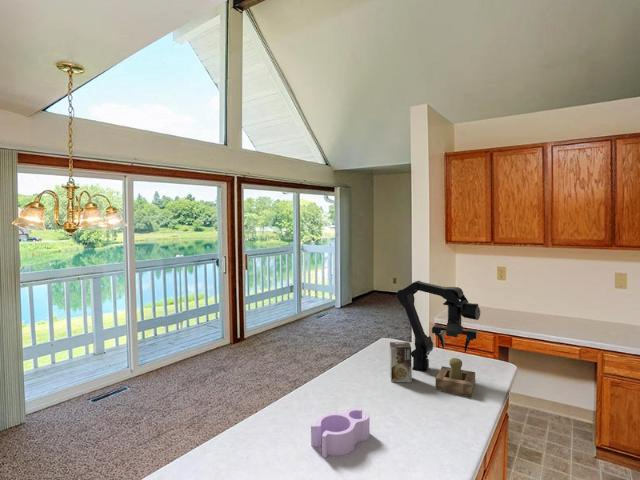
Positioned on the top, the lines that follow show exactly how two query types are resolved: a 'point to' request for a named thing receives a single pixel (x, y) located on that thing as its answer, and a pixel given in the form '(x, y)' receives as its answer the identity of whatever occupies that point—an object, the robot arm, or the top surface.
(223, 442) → the top surface
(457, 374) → the olive tall rounded piece
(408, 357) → the coffee box
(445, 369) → the well block
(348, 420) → the clip
